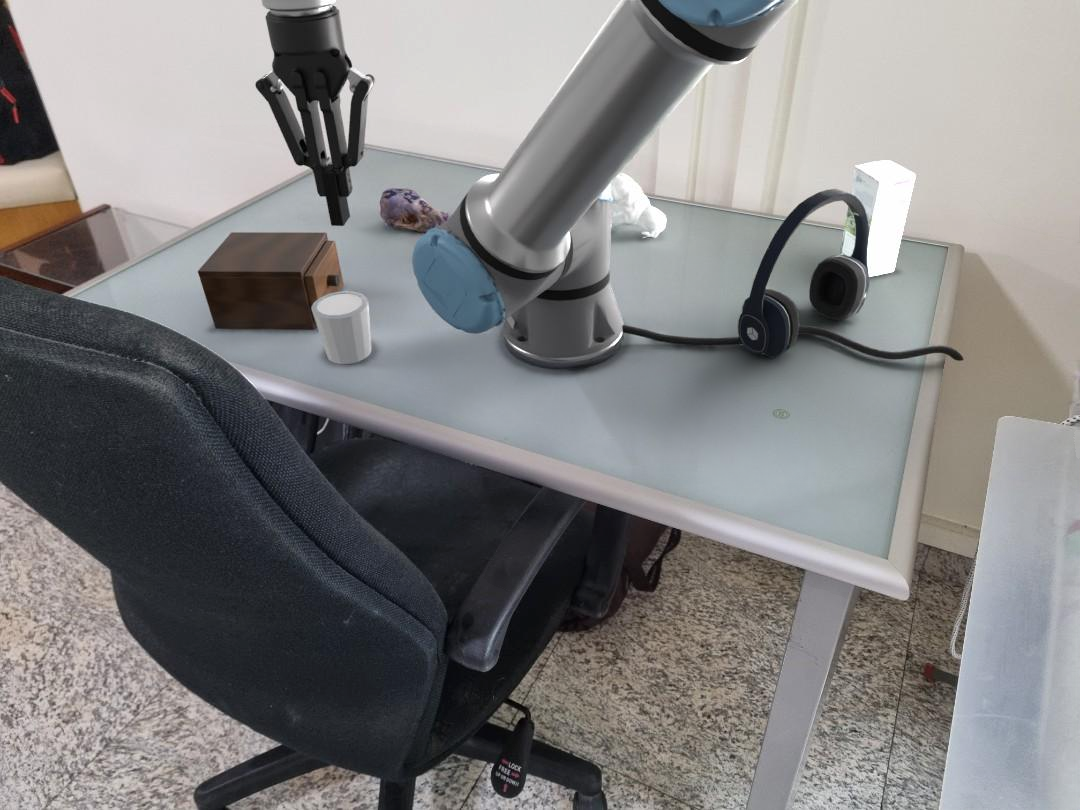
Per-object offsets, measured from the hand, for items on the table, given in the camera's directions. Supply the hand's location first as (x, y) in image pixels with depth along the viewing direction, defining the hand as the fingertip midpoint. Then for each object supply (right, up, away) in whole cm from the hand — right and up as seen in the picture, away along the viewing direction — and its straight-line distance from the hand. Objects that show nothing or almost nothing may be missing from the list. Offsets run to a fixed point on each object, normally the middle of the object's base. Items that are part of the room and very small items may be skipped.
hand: (340, 220), depth 101 cm
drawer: (-10, -8, +15) cm, 20 cm away
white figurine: (+38, +5, +32) cm, 50 cm away
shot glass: (0, -16, +6) cm, 17 cm away
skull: (+4, +7, +36) cm, 37 cm away
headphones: (+57, -13, +6) cm, 59 cm away
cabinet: (-12, -9, +16) cm, 22 cm away
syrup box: (+70, -3, +19) cm, 73 cm away
